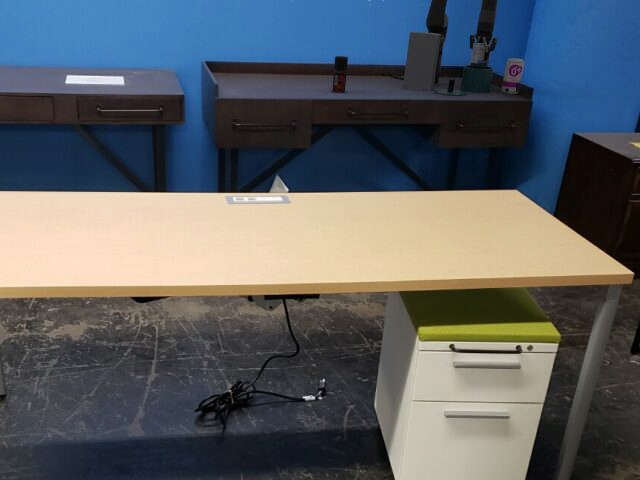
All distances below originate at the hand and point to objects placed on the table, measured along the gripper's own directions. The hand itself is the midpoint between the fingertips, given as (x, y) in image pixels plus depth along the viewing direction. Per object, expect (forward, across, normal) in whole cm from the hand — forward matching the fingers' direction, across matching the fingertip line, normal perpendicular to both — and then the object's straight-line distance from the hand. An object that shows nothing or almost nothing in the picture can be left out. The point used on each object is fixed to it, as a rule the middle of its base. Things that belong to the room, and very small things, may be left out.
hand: (480, 59), depth 368 cm
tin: (+14, 0, 0) cm, 14 cm away
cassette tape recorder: (+14, +19, +20) cm, 31 cm away
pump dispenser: (+15, +11, -19) cm, 26 cm away
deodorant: (+14, +38, +57) cm, 70 cm away
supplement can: (+15, -12, -12) cm, 22 cm away
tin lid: (+14, +3, +17) cm, 22 cm away
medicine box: (+2, 0, 0) cm, 2 cm away
